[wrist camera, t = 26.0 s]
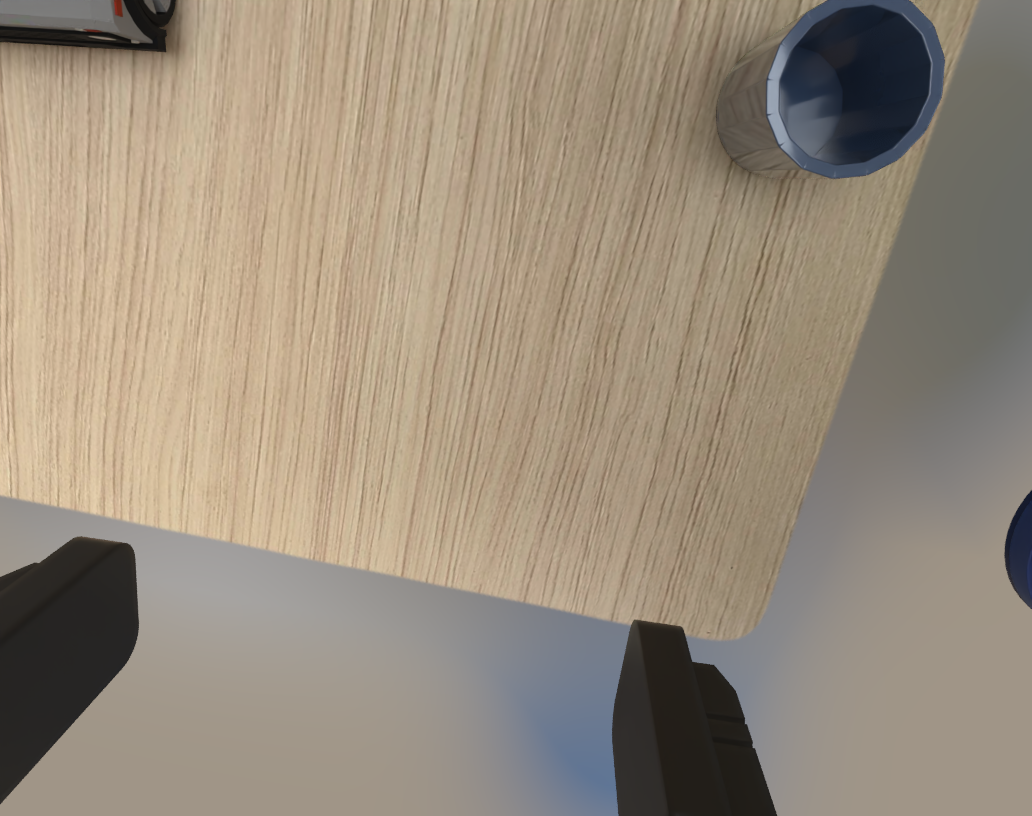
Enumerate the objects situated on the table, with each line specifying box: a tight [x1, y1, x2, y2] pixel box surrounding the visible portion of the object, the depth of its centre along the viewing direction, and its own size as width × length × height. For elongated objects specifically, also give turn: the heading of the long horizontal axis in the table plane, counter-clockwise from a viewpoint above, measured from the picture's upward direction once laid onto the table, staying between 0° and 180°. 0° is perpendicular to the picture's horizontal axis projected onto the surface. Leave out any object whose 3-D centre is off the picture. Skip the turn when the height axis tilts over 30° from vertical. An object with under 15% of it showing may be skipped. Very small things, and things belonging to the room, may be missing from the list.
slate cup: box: [716, 0, 945, 179], centre depth 30 cm, size 6×6×9 cm
